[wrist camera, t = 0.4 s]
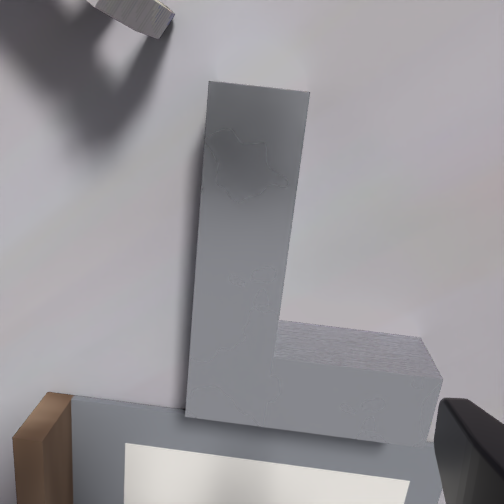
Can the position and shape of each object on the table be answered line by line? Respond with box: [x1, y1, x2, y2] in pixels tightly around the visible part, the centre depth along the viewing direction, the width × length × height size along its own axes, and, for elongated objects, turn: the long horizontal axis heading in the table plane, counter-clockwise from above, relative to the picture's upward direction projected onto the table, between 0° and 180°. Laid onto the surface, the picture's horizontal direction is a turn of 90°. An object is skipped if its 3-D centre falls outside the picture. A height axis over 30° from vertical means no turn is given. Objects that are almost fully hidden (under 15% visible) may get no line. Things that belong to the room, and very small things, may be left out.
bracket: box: [185, 81, 443, 448], centre depth 17 cm, size 12×9×3 cm
